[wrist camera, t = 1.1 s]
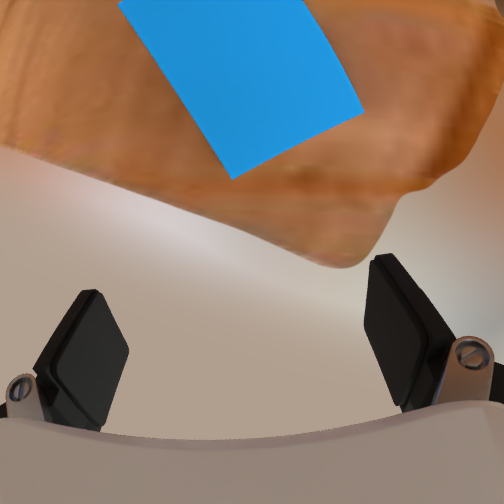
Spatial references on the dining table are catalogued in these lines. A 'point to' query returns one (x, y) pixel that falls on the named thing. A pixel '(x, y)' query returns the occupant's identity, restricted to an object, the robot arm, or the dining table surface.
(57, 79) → the dining table surface
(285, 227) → the dining table surface
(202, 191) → the dining table surface
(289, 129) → the book
